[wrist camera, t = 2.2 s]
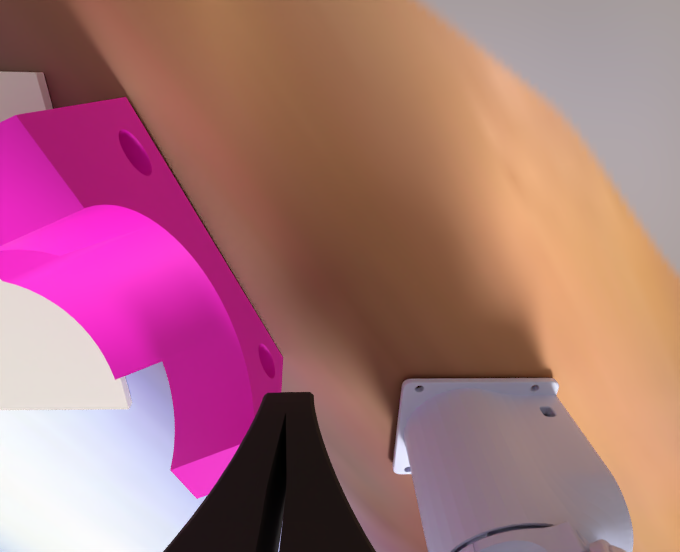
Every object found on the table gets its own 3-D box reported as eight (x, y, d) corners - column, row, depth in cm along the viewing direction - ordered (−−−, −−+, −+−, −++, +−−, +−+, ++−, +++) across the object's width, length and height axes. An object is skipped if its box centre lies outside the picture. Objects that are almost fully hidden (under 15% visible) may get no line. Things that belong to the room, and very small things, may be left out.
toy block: (-1, 156, 18) (-182, 210, 11) (126, 96, 17) (15, 115, 10) (187, 394, 24) (145, 517, 18) (283, 357, 24) (276, 469, 17)
